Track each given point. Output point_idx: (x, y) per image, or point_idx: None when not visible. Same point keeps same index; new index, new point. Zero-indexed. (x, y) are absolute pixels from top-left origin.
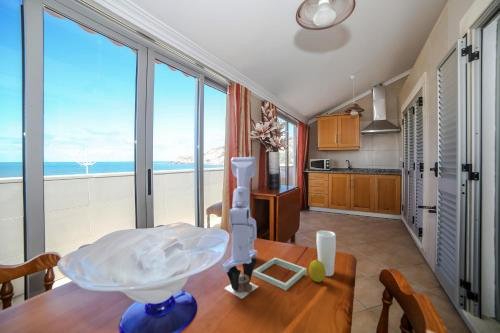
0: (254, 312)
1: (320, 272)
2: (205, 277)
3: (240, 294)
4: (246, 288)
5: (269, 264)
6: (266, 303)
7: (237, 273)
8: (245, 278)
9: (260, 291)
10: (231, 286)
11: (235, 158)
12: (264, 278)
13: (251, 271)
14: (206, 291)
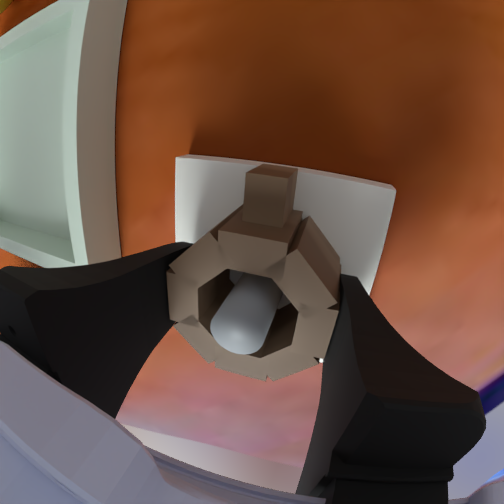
0: (429, 44)
1: None
2: (284, 452)
3: (354, 229)
4: (289, 211)
5: (11, 233)
6: (292, 13)
7: (457, 397)
8: (205, 284)
9: (198, 128)
10: None
11: None
12: (90, 170)
13: (121, 267)
14: None
